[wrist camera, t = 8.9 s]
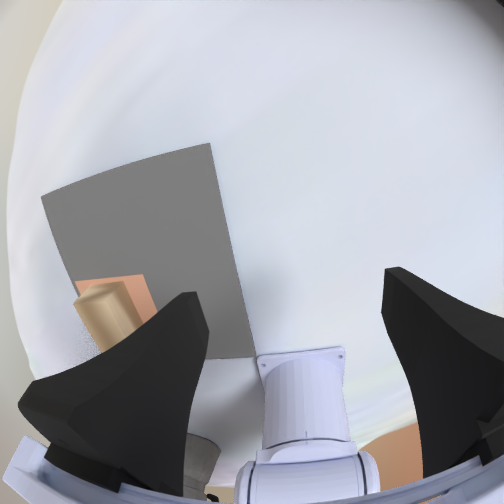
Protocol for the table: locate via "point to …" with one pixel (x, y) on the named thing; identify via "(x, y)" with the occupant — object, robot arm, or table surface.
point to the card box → (108, 313)
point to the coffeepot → (199, 467)
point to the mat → (156, 240)
